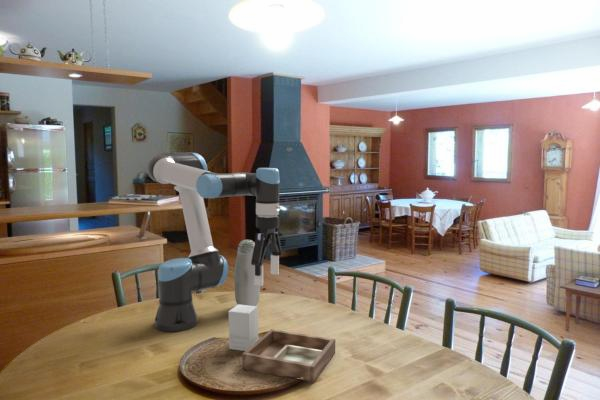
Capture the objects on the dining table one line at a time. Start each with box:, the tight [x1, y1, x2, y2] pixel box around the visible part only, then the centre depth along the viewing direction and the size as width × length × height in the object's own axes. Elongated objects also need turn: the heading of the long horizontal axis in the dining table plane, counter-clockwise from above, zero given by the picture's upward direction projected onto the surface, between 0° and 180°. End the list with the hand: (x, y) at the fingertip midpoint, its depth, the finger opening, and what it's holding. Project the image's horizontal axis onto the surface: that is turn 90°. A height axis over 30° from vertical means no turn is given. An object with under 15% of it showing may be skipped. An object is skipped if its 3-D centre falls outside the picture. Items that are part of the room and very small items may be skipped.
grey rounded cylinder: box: [233, 239, 261, 306], centre depth 182 cm, size 10×10×28 cm
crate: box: [241, 329, 336, 384], centre depth 137 cm, size 22×20×4 cm
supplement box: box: [227, 304, 259, 352], centre depth 147 cm, size 7×7×13 cm
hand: (267, 279), depth 150 cm, fingers open, 13 cm apart
